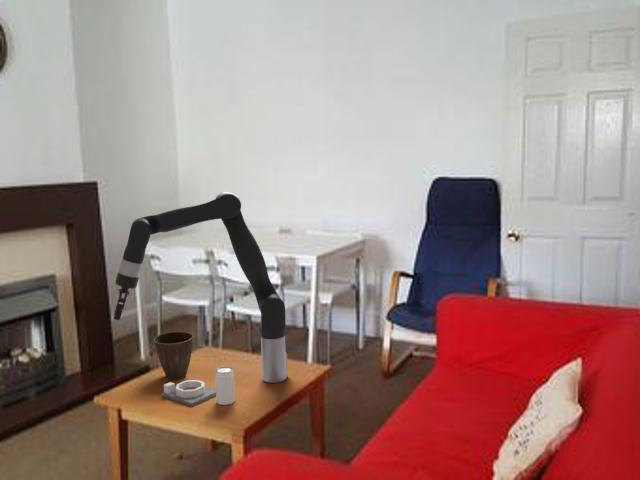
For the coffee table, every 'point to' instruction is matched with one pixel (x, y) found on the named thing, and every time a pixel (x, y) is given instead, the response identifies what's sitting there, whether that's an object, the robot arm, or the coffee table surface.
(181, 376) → the plant pot
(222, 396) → the can
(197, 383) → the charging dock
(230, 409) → the coffee table surface
